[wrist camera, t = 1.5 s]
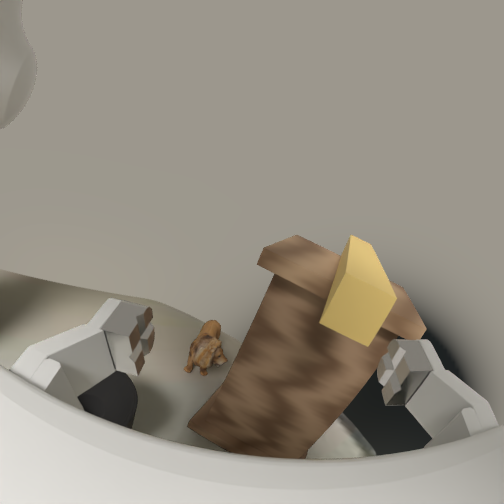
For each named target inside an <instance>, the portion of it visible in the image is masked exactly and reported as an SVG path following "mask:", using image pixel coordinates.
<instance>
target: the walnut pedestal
mask: <svg viewBox="0 0 504 504" xmlns="http://www.w3.org/2000/svg"><path fill="white" fill-rule="evenodd" d="M340 258H341V256H340V255H338V254H335V253H334V252H332V251H329V250H328V249H325V248H323V247H321V246H319V245H317V244H315V243H313V242H311V241H309V240H307V239H304V238H303V237H300V236H298V235H295V236H292V237H290V238H287V239H285V240H282V241H279V242H277V243H274V244H272V245H269V246H267V247H264V248H263V251H262V253H261V255H260V258H259V260H258V263H257V265H259V266H261V267H263V268H265V269H267V270H269V271H271V272H273V273H275V274H274V276H273V278H272V281H271V283H270V285H269V287H268V290H267V292H266V294H265V296H264V298H263V301H262V303H261V305H260V307H259V309H258V311H257V314H256V316H255V318H254V320H253V322H252V324H251V326H250V329H249V331H248V333H247V335H246V337H245V339H244V342H243V344H242V346H241V348H240V350H239V352H238V354H237V356H236V358H235V360H234V362H233V364H232V367H231V369H230V371H229V373H228V375H227V377H226V379H225V381H224V382H223V384H222V385H221V386H220V387H219V388H218V389H217V391H216V392H215V393H214V394H213V395H212V396H211V397H210V398H209V400H208V401H207V402H206V403H205V404H204V405H203V406H202V407H201V409H200V410H199V411H198V412H197V413H196V414H195V415H194V416H193V417H192V418H191V420H190V421H189V423H188V426H187V427H189V428H190V429H192V430H193V431H195V432H197V433H198V434H200V435H201V436H203V437H205V438H206V439H208V440H210V441H211V442H213V443H215V444H216V445H218V446H220V447H222V448H223V449H225V450H227V451H229V452H231V453H235V454H243V455H251V456H261V457H273V458H289V459H305V458H306V455H307V452H308V449H309V448H310V447H311V446H312V445H313V444H314V443H315V442H316V441H317V440H318V439H319V438H320V437H321V435H322V434H323V433H324V432H325V431H326V430H327V429H328V428H329V427H330V426H331V425H332V423H333V422H334V421H335V420H336V419H337V418H338V417H339V415H340V414H341V413H342V412H343V411H344V410H345V408H346V407H347V406H348V405H349V403H350V402H351V401H352V400H353V399H354V397H355V396H356V395H357V394H358V392H359V391H360V390H361V388H362V387H363V386H364V385H365V383H366V382H367V381H368V379H369V378H370V377H371V375H372V374H373V372H374V371H375V370H376V368H377V367H378V364H379V362H380V360H381V358H382V356H384V355H385V354H386V353H388V350H387V347H388V345H389V343H390V342H391V341H392V340H393V339H397V337H398V336H401V337H403V338H405V339H407V340H420V339H421V337H422V335H423V334H424V332H425V331H426V327H425V325H424V324H423V322H422V320H421V318H420V316H419V315H418V313H417V311H416V309H415V307H414V306H413V304H412V302H411V300H410V299H409V297H408V295H407V293H406V292H405V290H404V288H403V287H401V286H399V285H397V284H395V283H393V282H391V281H389V282H390V284H391V286H392V288H393V291H394V293H395V295H396V297H397V300H396V301H395V303H394V305H393V307H392V309H391V310H390V312H389V314H388V315H387V317H386V319H385V321H384V322H383V324H382V326H381V327H380V329H379V330H378V332H377V334H376V335H375V337H374V338H373V340H372V342H371V343H370V345H369V346H368V347H367V346H365V345H363V344H361V343H359V342H357V341H354V340H352V339H350V338H348V337H346V336H344V335H342V334H340V333H338V332H336V331H334V330H332V329H330V328H328V327H326V326H324V325H322V324H320V323H319V322H320V319H321V316H322V314H323V311H324V308H325V305H326V302H327V299H328V296H329V293H330V290H331V287H332V284H333V281H334V278H335V274H336V271H337V268H338V265H339V261H340Z"/></svg>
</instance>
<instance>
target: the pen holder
mask: <svg viewBox="0 0 504 504" xmlns="http://www.w3.org/2000/svg"><path fill="white" fill-rule="evenodd" d="M77 398H78V400H79V401H80V403H81V405H82V406H83V409H84V411H85V412H88V413H90V414H92V415H95V416H97V417H100V418H102V419H105V420H107V421H110V422H113V423H115V424H118V425H121V426H124V427H127V428H130V429H131V428H132V424H133V420H134V416H135V412H136V408H137V402H138V399H137V392H136V389H135V386H134V384H133V382H132V381H131V379H130V378H129V377H128V375H127V374H126V373H124V372H120V371H117V370H115V372H114V373H112V374H111V375H109V376H108V377H106V378H105V379H103V380H102V381H100V382H99V383H97V384H96V385H94V386H93V387H91V388H90V389H88V390H87V391H85V392H84V393H82V394H81V395H79V396H78V397H77Z"/></svg>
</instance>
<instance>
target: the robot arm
mask: <svg viewBox="0 0 504 504" xmlns="http://www.w3.org/2000/svg"><path fill="white" fill-rule="evenodd" d="M22 1H23V0H0V129H2V128H5V127H6V126H7V125H9V124H10V123H11V122H12V121H13V120H14V119H15V118H16V117H17V116H18V115H19V113H20V112H21V111H22V109H23V108H24V106H25V105H26V103H27V101H28V100H29V98H30V96H31V93H32V90H33V87H34V85H35V80H36V74H37V61H36V56H35V53H34V50H33V48H32V46H31V45H30V43H29V42H28V39H27V37H26V35H25V32H24V29H23V24H22ZM152 318H153V315H152V309H151V308H150V307H147V306H143V305H139V304H135V303H131V302H128V301H123V300H119V299H115V298H109V299H107V301H106V302H105V303H104V304H103V305H102V307H101V308H100V309H99V310H98V312H97V313H96V314H95V315H94V316H93V318H92V319H91V320H90V321H89V323H88V324H87V325H85V324H82V325H79V326H77V327H75V328H72V329H70V330H67V331H65V332H62V333H60V334H58V335H55V336H53V337H50V338H48V339H45V340H43V341H40V342H38V343H36V344H33V345H31V346H28V348H27V349H26V350H25V351H24V352H23V354H22V355H21V356H20V357H19V358H18V360H17V361H16V362H15V363H14V365H13V366H12V367H11V369H10V370H8V369H6V368H5V367H3V366H2V365H0V504H504V425H502V426H499V425H498V422H497V420H496V418H495V416H494V414H493V412H492V409H491V407H490V405H489V403H488V401H486V400H485V399H484V398H483V397H481V396H480V395H479V394H478V393H476V392H475V391H474V390H472V389H471V388H470V387H469V386H467V385H466V384H465V383H463V382H462V381H461V380H460V379H459V378H457V377H456V376H455V375H454V374H452V373H451V372H449V371H448V370H445V369H444V367H443V366H442V363H441V362H440V359H439V357H438V355H437V353H436V352H435V350H434V348H433V346H432V344H431V342H430V341H428V340H399V339H393V340H392V341H391V342H390V343H389V345H388V347H387V350H388V353H386V354H385V355H384V356H382V358H381V360H380V362H379V364H378V369H377V376H378V380H379V382H380V383H381V384H382V385H383V386H384V387H383V389H382V394H383V398H384V402H385V405H386V406H390V405H405V406H406V407H407V409H408V410H409V411H410V412H411V413H412V415H413V416H414V417H415V418H416V419H417V420H418V421H419V423H420V424H421V425H422V426H423V427H424V429H425V430H426V431H427V432H428V433H429V435H430V436H431V437H432V438H433V439H432V440H431V441H430V442H429V443H428V444H427V445H425V447H424V448H423V449H418V450H413V451H408V452H402V453H396V454H388V455H380V456H370V457H359V458H343V459H289V458H273V457H261V456H251V455H243V454H235V453H229V452H222V451H216V450H211V449H205V448H200V447H195V446H191V445H186V444H182V443H178V442H174V441H170V440H166V439H162V438H159V437H155V436H152V435H148V434H145V433H142V432H139V431H136V430H133V429H130V428H127V427H124V426H121V425H118V424H115V423H113V422H110V421H107V420H105V419H102V418H100V417H97V416H95V415H92V414H90V413H88V412H85V411H84V409H83V406H82V405H81V403H80V401H79V400H78V398H77V397H78V396H79V395H81V394H82V393H84V392H85V391H87V390H88V389H90V388H91V387H93V386H94V385H96V384H97V383H99V382H100V381H102V380H103V379H105V378H106V377H108V376H109V375H111V374H112V373H114V372H115V370H117V371H120V372H124V373H128V374H131V375H135V376H138V375H139V373H140V371H141V369H142V367H143V365H144V363H145V360H144V356H145V355H147V354H149V353H150V351H151V349H152V347H153V342H154V335H155V332H154V327H153V325H152V324H151V323H150V321H151V319H152Z"/></svg>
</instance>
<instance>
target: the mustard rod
mask: <svg viewBox="0 0 504 504" xmlns="http://www.w3.org/2000/svg"><path fill="white" fill-rule="evenodd" d="M396 300H397V297H396V295H395V293H394V291H393V288H392V286H391V284H390V282H389V280H388V278H387V276H386V274H385V272H384V269H383V268H382V266H381V263H380V261H379V260H378V257H377V255H376V253H375V251H374V250H373V248H372V246H371V244H369V243H367V242H365V241H363V240H361V239H359V238H357V237H354V236H353V235H350V238H349V240H348V242H347V244H346V247H345V248H344V251H343V253H342V255H341V258H340V261H339V265H338V268H337V271H336V274H335V278H334V281H333V284H332V287H331V290H330V293H329V296H328V299H327V302H326V305H325V308H324V311H323V314H322V316H321V319H320V322H319V323H320V324H322V325H324V326H326V327H328V328H330V329H332V330H334V331H336V332H338V333H340V334H342V335H344V336H346V337H348V338H350V339H352V340H354V341H357V342H359V343H361V344H363V345H365V346H367V347H368V346H369V345H370V343H371V342H372V340H373V338H374V337H375V335H376V334H377V332H378V330H379V329H380V327H381V326H382V324H383V322H384V321H385V319H386V317H387V315H388V314H389V312H390V310H391V309H392V307H393V305H394V303H395V301H396Z"/></svg>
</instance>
